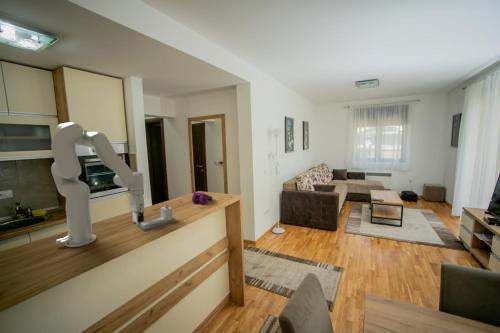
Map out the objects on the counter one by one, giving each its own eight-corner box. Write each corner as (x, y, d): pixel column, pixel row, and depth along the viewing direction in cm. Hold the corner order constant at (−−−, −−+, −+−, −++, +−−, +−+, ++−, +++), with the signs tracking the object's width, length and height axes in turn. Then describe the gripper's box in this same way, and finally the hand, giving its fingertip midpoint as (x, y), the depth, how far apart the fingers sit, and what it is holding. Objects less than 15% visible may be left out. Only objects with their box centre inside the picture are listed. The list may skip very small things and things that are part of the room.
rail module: (137, 225, 133) (136, 213, 132) (133, 222, 137) (132, 211, 136) (144, 223, 136) (144, 211, 135) (140, 220, 140) (139, 209, 139)
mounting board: (144, 231, 124) (143, 214, 123) (137, 226, 131) (136, 210, 130) (176, 221, 139) (175, 206, 138) (168, 217, 146) (168, 203, 145)
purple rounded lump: (203, 206, 190) (190, 202, 175) (205, 196, 193) (193, 192, 177) (212, 207, 186) (200, 203, 171) (214, 197, 189) (203, 193, 173)
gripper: (125, 191, 137) (127, 218, 139) (136, 195, 125) (137, 225, 128) (137, 189, 142) (139, 215, 145) (149, 193, 131) (150, 222, 133)
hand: (138, 220), depth 136 cm, fingers closed on rail module, 6 cm apart
